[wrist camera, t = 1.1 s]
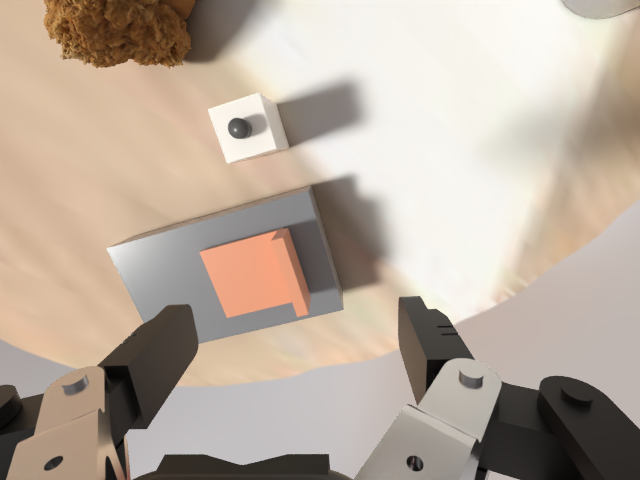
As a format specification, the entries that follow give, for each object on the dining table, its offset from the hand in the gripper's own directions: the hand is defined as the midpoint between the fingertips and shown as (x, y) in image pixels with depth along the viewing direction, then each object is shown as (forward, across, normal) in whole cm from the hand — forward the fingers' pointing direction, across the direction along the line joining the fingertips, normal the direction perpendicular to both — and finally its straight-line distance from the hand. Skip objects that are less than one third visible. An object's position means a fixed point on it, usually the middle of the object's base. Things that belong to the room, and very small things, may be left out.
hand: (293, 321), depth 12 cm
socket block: (+20, +9, +5) cm, 23 cm away
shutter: (+16, +6, +5) cm, 18 cm away
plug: (+21, +5, -8) cm, 23 cm away
